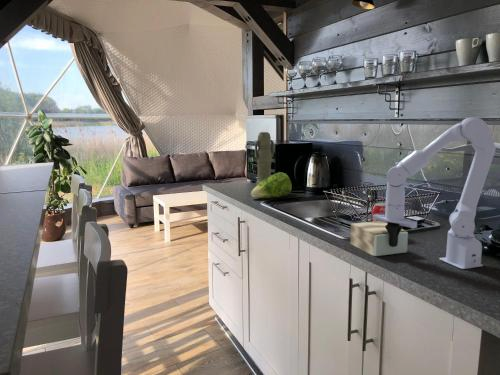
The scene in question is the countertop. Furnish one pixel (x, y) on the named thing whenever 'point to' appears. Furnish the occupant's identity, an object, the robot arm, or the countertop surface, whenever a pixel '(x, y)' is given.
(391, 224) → the robot arm
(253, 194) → the lettuce
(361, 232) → the beige wooden rectangular box
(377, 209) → the soda can
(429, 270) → the countertop surface
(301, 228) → the countertop surface
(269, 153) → the thermos
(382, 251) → the pale green drawer
